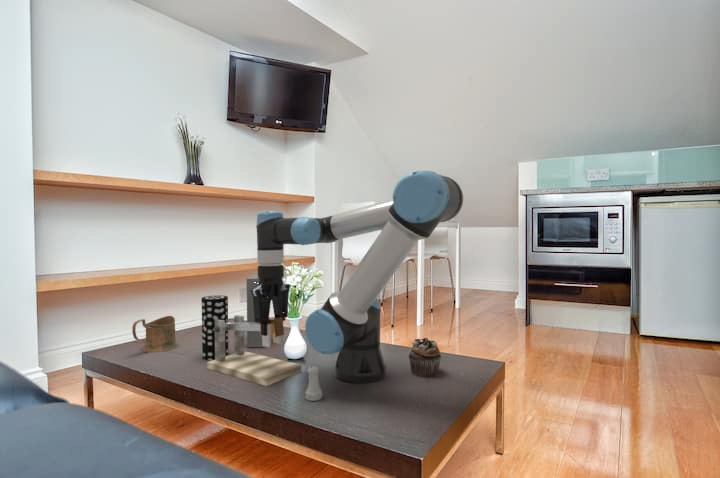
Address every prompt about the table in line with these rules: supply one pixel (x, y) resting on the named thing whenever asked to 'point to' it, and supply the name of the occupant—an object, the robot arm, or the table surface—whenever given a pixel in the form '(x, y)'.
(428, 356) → the cupcake
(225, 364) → the press base
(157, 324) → the mug
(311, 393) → the rook chess piece
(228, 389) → the table surface
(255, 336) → the tall grey upright block
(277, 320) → the lever
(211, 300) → the white-spotted black cylinder
